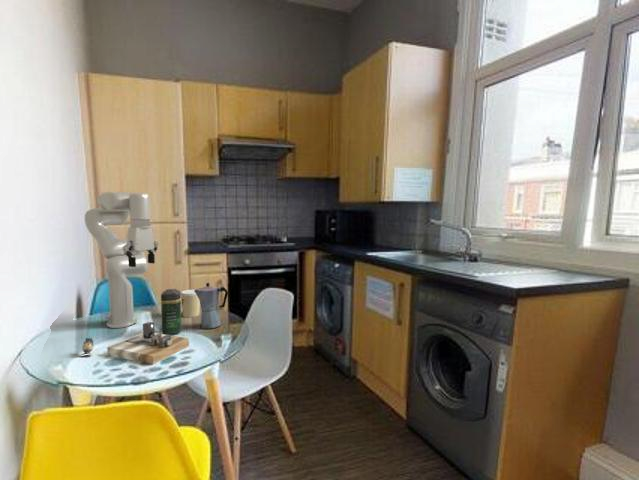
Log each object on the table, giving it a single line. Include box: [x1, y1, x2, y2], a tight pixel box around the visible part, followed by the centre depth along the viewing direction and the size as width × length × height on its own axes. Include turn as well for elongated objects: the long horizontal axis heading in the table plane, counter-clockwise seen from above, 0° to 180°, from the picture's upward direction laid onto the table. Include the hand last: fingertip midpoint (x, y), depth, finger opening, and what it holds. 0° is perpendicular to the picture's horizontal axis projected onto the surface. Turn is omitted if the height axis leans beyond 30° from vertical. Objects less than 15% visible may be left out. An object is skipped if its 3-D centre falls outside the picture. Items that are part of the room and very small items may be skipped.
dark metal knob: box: [141, 321, 172, 345], centre depth 137 cm, size 13×4×7 cm, turn 69°
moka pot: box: [194, 282, 229, 330], centre depth 166 cm, size 10×15×20 cm, turn 95°
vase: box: [81, 337, 94, 357], centre depth 134 cm, size 5×5×6 cm
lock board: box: [106, 332, 190, 365], centre depth 138 cm, size 22×18×6 cm
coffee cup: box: [180, 289, 201, 318], centre depth 183 cm, size 9×9×12 cm
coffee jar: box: [160, 288, 182, 336], centre depth 158 cm, size 10×8×19 cm
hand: (142, 264), depth 151 cm, fingers open, 9 cm apart
